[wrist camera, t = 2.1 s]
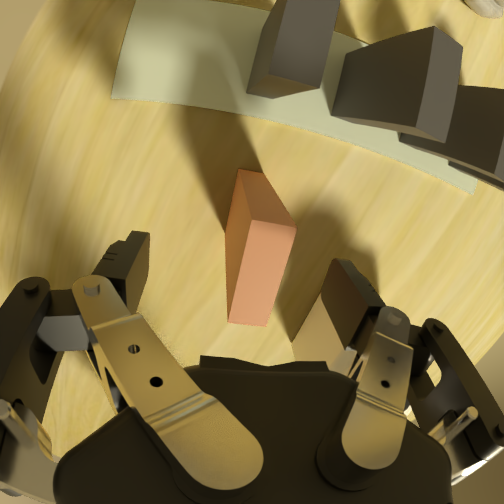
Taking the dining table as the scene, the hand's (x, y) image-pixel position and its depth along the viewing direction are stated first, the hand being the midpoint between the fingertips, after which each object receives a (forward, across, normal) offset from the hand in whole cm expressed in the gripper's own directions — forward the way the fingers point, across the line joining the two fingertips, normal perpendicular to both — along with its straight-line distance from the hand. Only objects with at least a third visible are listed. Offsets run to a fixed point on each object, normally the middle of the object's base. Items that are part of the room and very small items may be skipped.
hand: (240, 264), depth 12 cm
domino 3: (+9, -6, -10) cm, 15 cm away
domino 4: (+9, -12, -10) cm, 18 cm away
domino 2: (+9, -1, 0) cm, 9 cm away
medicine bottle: (+9, -12, +10) cm, 18 cm away
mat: (+9, -6, -10) cm, 15 cm away
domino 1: (+9, 0, -10) cm, 14 cm away
